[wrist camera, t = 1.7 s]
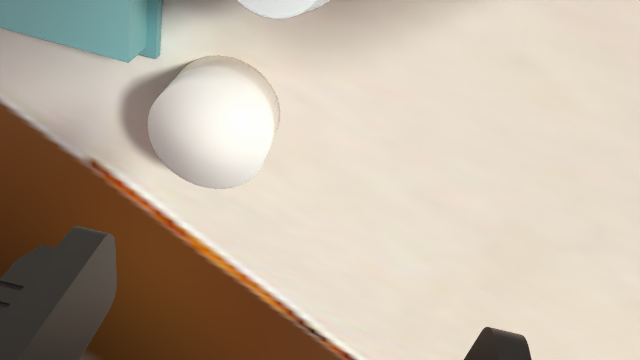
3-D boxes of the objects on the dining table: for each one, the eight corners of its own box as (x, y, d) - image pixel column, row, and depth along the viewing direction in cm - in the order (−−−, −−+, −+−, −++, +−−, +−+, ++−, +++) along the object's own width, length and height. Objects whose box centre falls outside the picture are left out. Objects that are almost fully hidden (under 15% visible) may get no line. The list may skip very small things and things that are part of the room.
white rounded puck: (176, 41, 30) (149, 67, 27) (290, 72, 31) (276, 102, 27) (170, 138, 35) (145, 171, 31) (270, 165, 35) (256, 201, 32)
